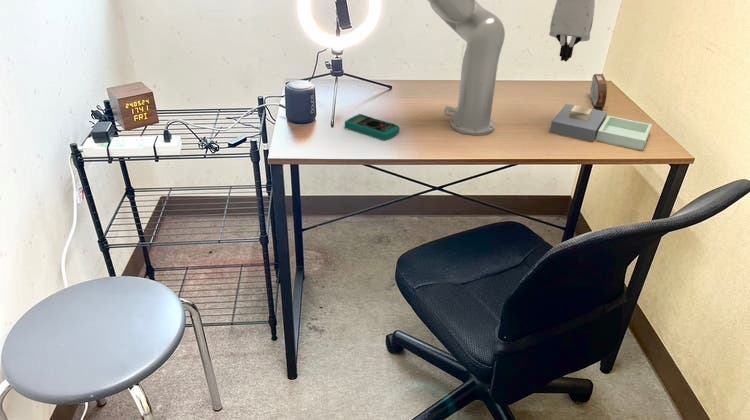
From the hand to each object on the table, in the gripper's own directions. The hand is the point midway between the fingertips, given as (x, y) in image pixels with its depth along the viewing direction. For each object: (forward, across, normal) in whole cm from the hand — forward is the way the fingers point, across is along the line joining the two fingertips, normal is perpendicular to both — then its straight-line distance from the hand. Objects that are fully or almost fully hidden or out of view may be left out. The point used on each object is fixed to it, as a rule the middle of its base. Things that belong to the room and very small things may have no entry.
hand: (564, 59), depth 153 cm
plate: (+19, +7, 0) cm, 20 cm away
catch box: (+19, +20, 0) cm, 27 cm away
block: (+15, +7, 0) cm, 17 cm away
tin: (+19, +7, +24) cm, 31 cm away
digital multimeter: (+19, -42, -34) cm, 57 cm away
